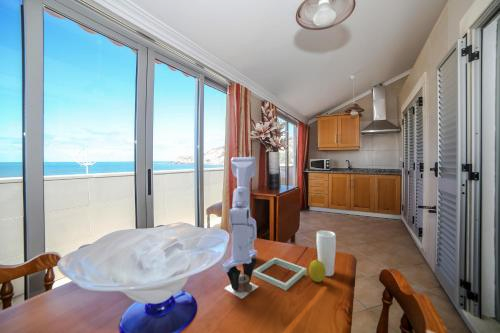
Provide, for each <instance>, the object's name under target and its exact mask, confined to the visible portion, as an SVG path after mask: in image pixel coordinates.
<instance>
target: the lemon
mask: <svg viewBox="0 0 500 333" xmlns="http://www.w3.org/2000/svg"><path fill="white" fill-rule="evenodd" d="M308 275H309V277H310V278H311V280H312V281H313V282H316V283H321V282H323V281H324V280H325V278H326V276H325V275H326V271H325V266H324V264H323V263H322V262H321V261H319V260H318V259H314V260H312V261H311V262H310V263H309V267H308Z"/></svg>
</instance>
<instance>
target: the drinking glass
mask: <svg viewBox="0 0 500 333" xmlns="http://www.w3.org/2000/svg"><path fill="white" fill-rule="evenodd" d="M315 240H316V250H317V251H316V252H317V260H319V261H321V262H322V263H323V264H324V266H325V271H326V275H325V277H332V276H333V275H334V274H335V259H336V248H337V247H336V245H337V244H336V243H337V236H336V233H335V232H333V231H331V230H318V231H316V239H315Z"/></svg>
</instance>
